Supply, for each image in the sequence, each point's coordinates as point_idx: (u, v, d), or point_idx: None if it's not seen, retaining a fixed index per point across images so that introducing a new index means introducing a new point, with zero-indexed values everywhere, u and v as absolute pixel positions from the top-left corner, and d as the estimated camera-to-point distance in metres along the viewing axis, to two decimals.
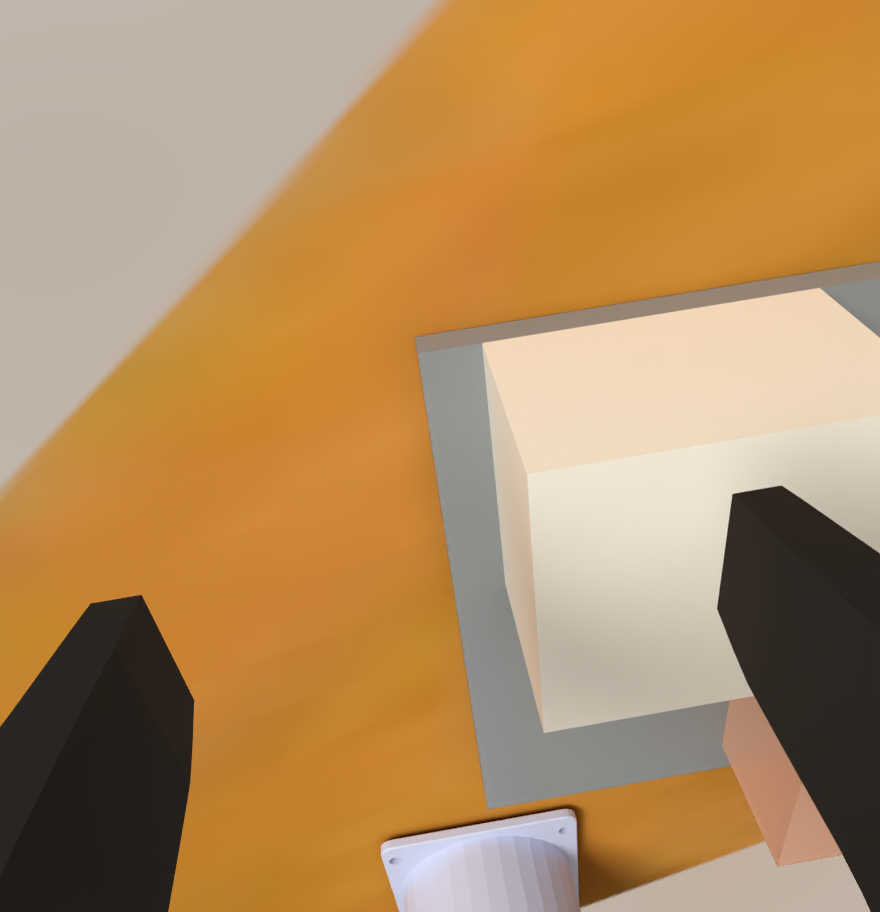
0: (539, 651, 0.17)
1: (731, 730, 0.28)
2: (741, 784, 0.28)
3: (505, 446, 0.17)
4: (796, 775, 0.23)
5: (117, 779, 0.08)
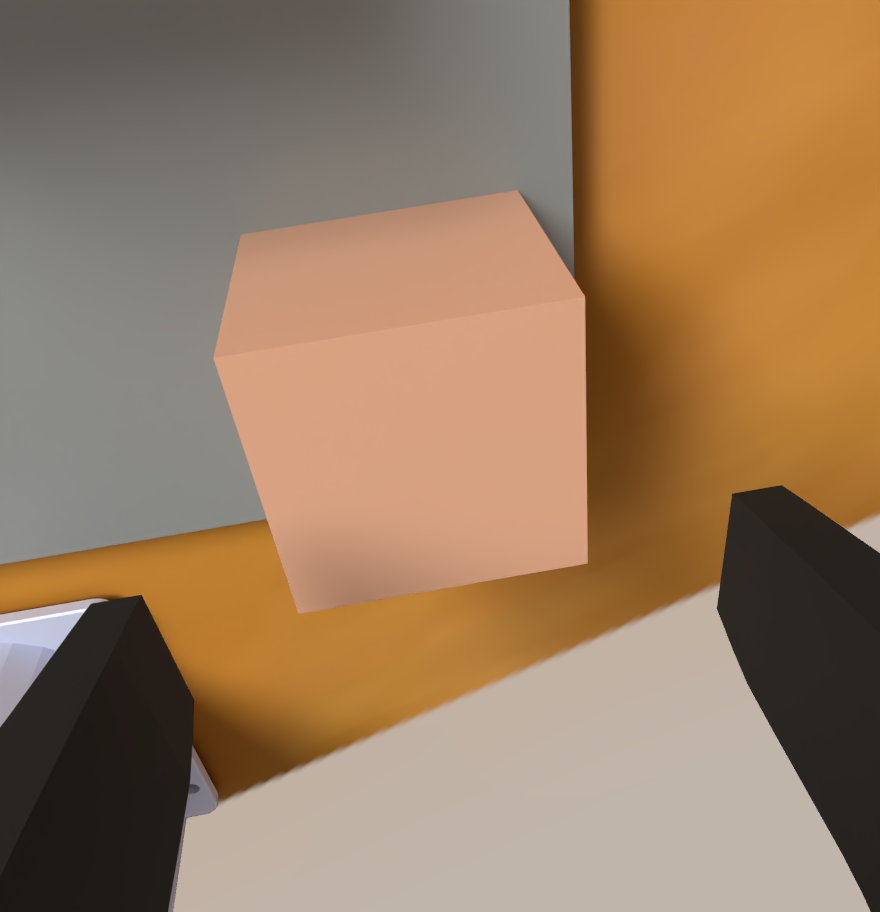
0: None
1: None
2: None
3: None
4: (217, 350, 0.11)
5: (117, 779, 0.08)
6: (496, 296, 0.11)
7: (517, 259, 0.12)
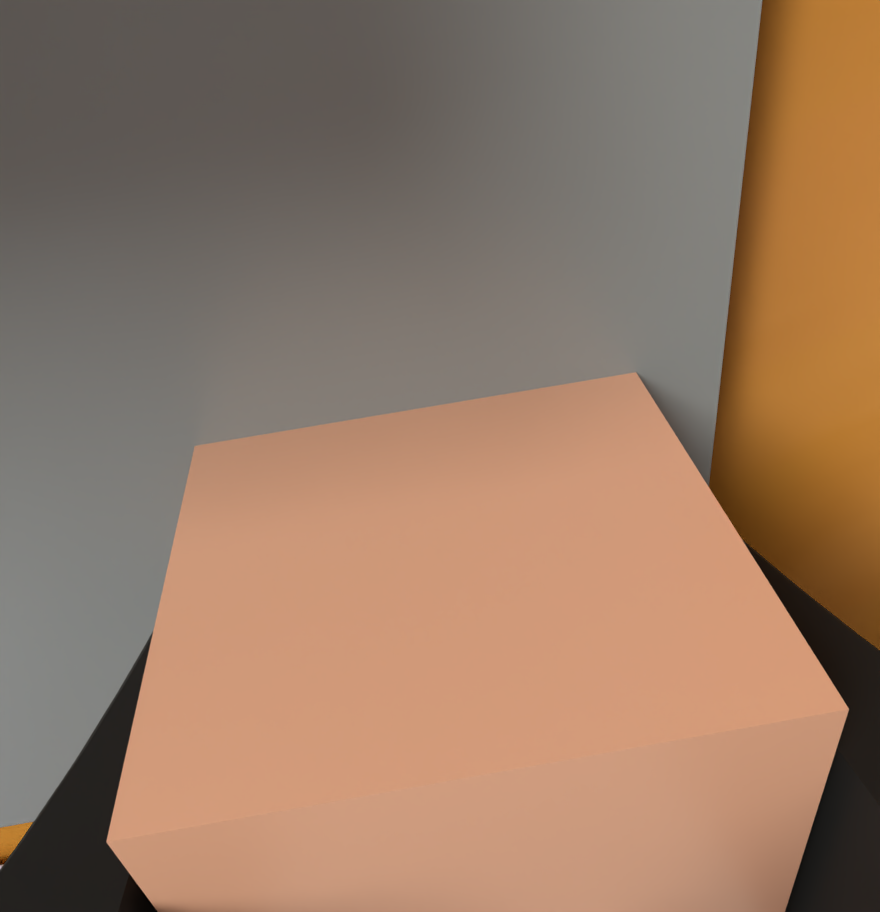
0: None
1: None
2: None
3: None
4: (119, 804, 0.05)
5: None
6: (664, 685, 0.06)
7: (677, 565, 0.07)
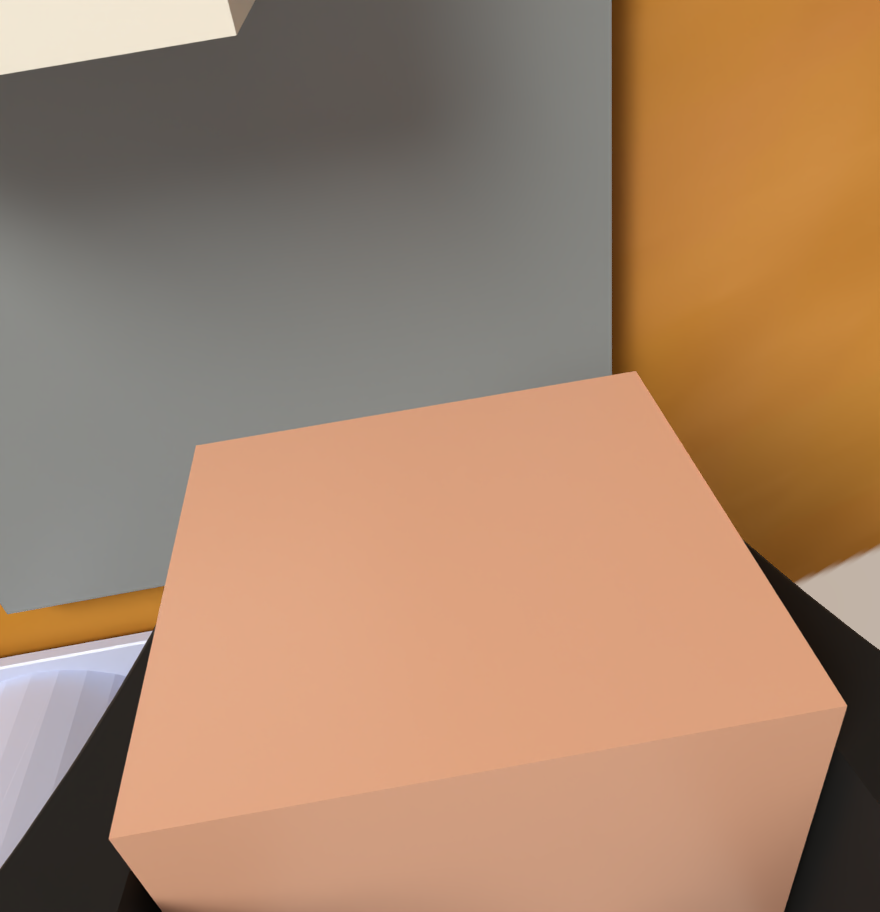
0: None
1: None
2: None
3: None
4: (122, 801, 0.05)
5: None
6: (663, 683, 0.06)
7: (677, 562, 0.07)
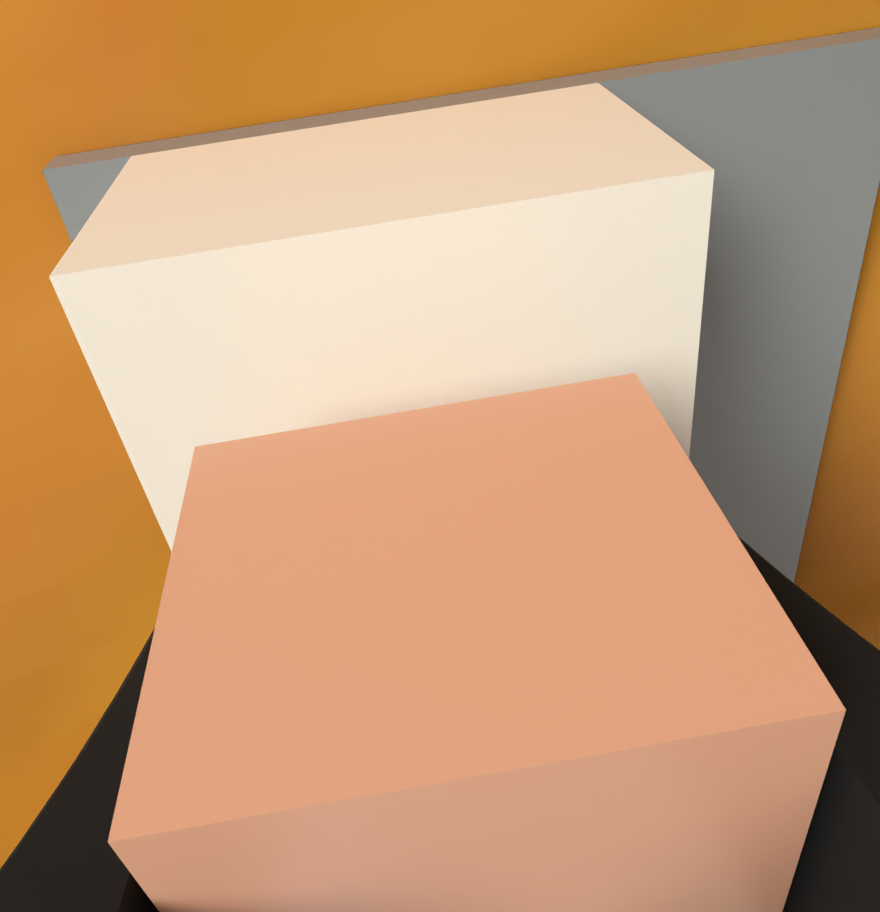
0: None
1: None
2: None
3: None
4: (120, 804, 0.05)
5: None
6: (661, 687, 0.06)
7: (676, 565, 0.07)
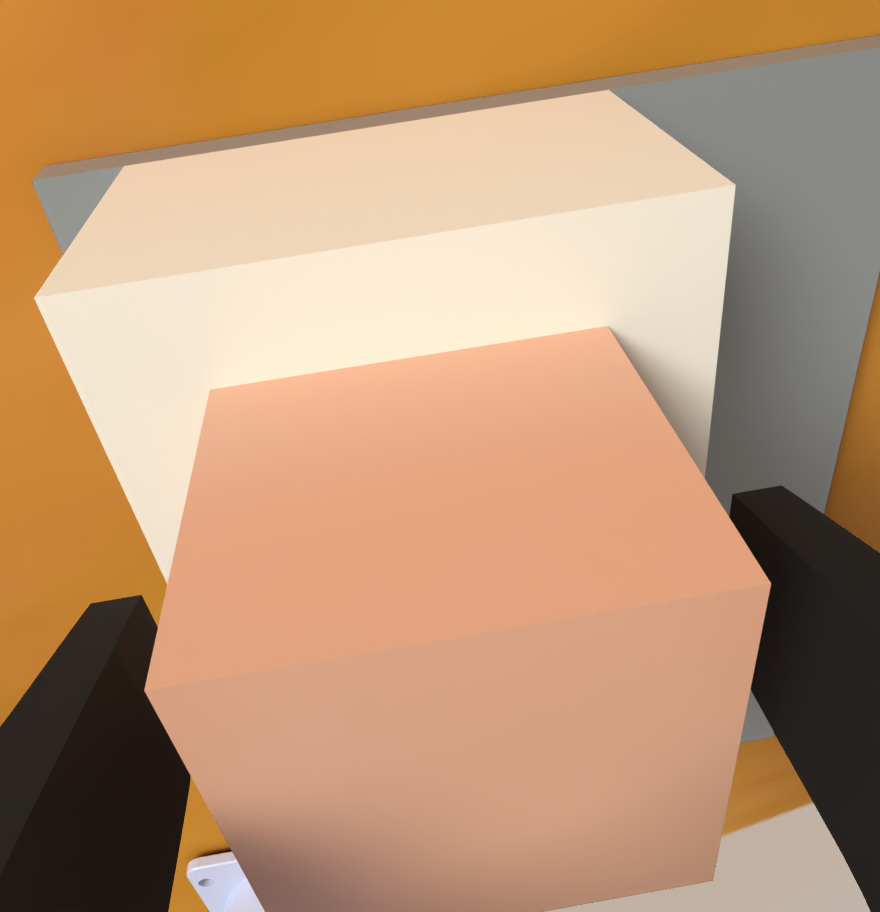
0: None
1: None
2: None
3: None
4: (154, 664, 0.06)
5: (117, 779, 0.08)
6: (617, 568, 0.07)
7: (636, 478, 0.08)
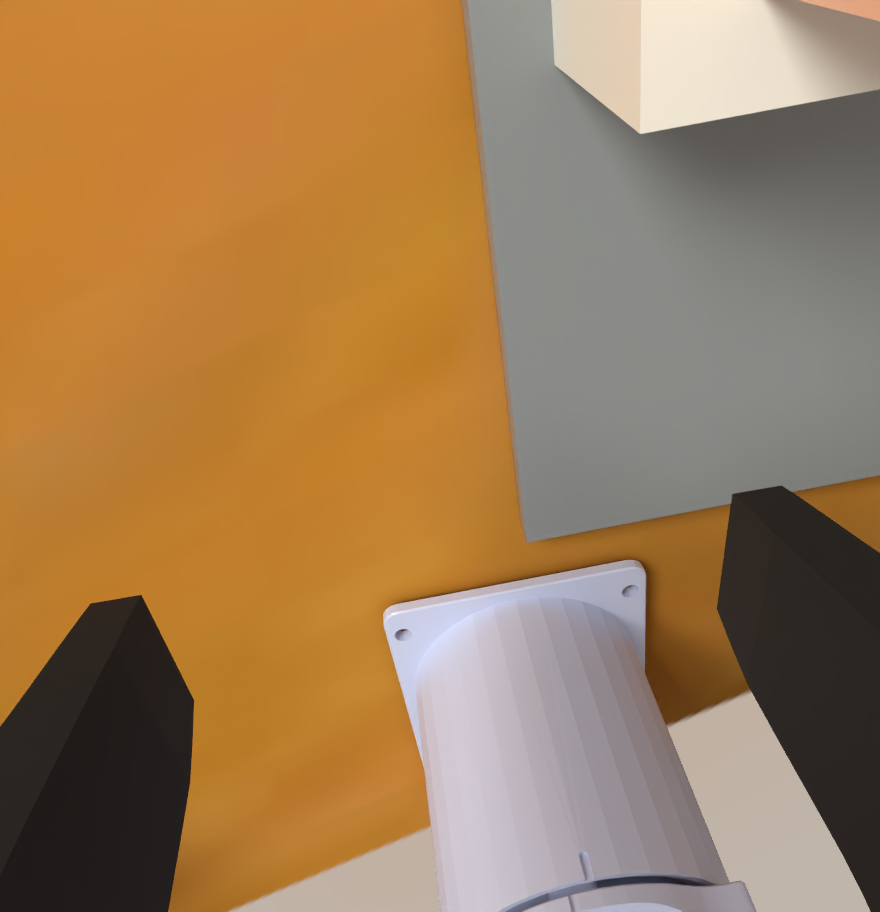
0: None
1: None
2: None
3: None
4: None
5: (116, 780, 0.08)
6: None
7: None
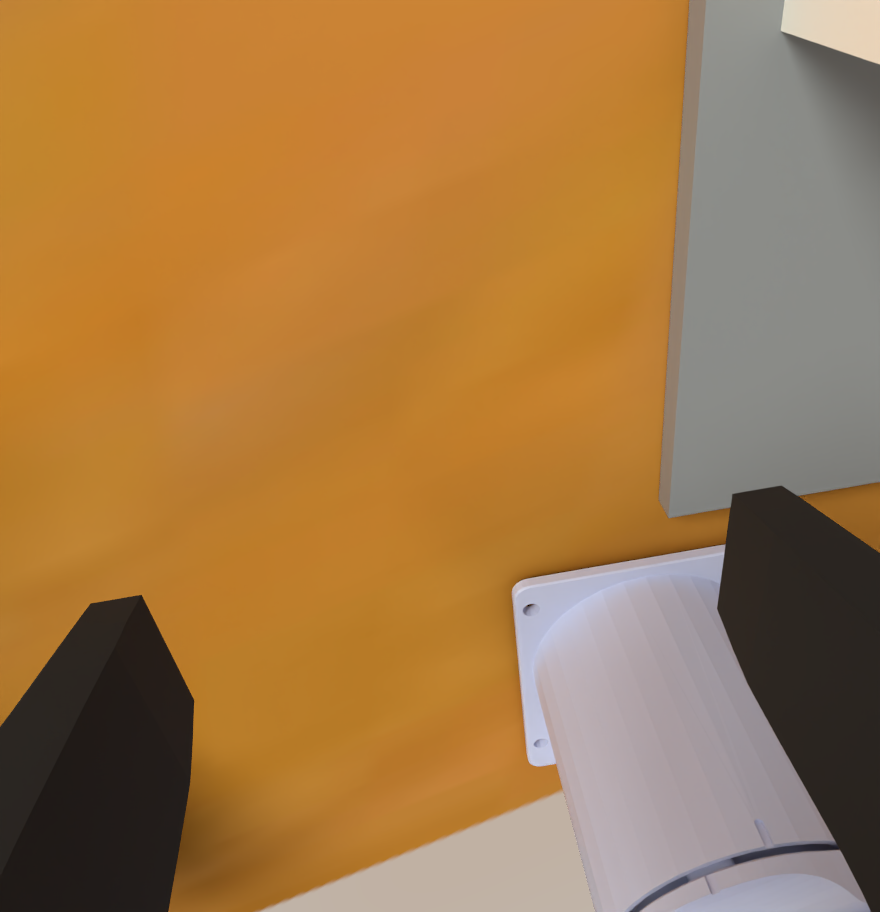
0: None
1: None
2: None
3: None
4: None
5: (117, 779, 0.08)
6: None
7: None
